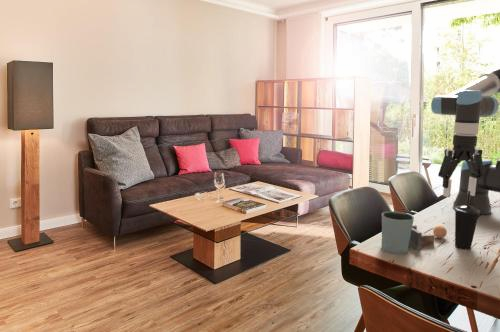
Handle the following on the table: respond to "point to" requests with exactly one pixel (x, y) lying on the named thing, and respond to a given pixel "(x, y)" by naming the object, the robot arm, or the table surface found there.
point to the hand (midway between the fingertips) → (458, 195)
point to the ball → (439, 231)
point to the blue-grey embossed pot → (396, 231)
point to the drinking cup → (465, 225)
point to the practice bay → (420, 239)
